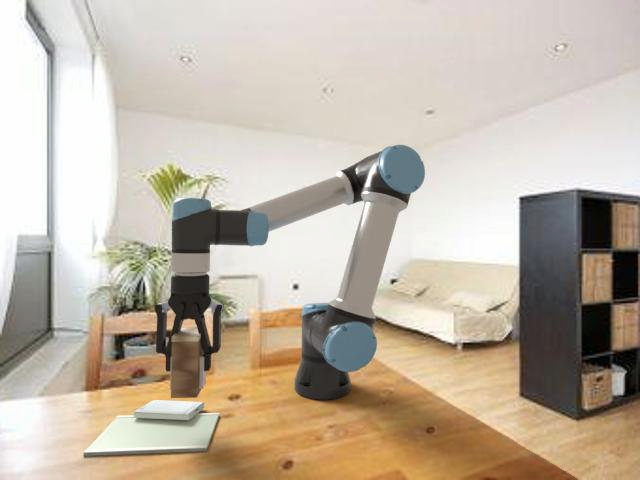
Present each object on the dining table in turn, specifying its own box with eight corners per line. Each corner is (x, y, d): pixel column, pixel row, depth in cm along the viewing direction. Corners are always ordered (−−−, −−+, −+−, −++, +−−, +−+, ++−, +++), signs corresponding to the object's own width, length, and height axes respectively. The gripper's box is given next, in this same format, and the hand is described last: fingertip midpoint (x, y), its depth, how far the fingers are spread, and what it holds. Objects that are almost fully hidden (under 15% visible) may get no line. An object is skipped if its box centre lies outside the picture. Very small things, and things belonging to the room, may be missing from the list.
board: (219, 415, 84) (219, 412, 84) (206, 451, 70) (206, 447, 70) (117, 418, 82) (117, 415, 82) (83, 456, 68) (83, 452, 68)
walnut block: (204, 383, 81) (205, 327, 81) (197, 397, 74) (198, 336, 74) (180, 384, 80) (181, 327, 80) (170, 398, 73) (171, 336, 73)
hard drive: (133, 411, 81) (188, 413, 80) (154, 399, 89) (204, 400, 88) (133, 419, 81) (188, 421, 79) (154, 406, 89) (204, 408, 87)
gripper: (237, 272, 81) (235, 378, 81) (151, 271, 80) (149, 380, 80) (232, 275, 74) (230, 393, 74) (137, 274, 72) (135, 394, 72)
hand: (188, 386), depth 77 cm, fingers closed on walnut block, 5 cm apart
